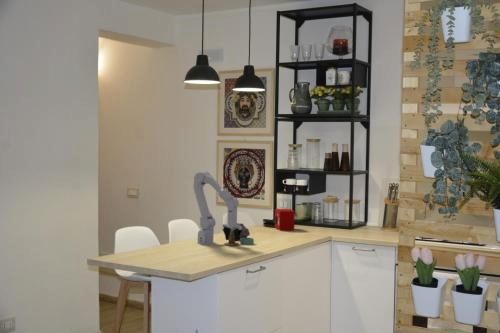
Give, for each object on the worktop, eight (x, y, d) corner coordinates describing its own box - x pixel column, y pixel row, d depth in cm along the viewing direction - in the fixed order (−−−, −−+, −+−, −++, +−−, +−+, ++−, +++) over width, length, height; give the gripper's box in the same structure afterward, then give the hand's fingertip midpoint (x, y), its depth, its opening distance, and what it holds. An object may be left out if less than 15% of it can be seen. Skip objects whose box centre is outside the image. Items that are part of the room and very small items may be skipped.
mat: (232, 247, 362) (232, 246, 362) (220, 245, 368) (220, 244, 368) (243, 245, 369) (243, 245, 369) (231, 243, 376) (231, 243, 376)
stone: (255, 221, 396) (241, 223, 384) (256, 237, 396) (243, 240, 383) (233, 223, 407) (219, 225, 394) (234, 239, 406) (220, 241, 394)
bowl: (247, 245, 369) (247, 239, 369) (237, 244, 375) (237, 238, 374) (256, 244, 375) (256, 238, 375) (246, 242, 380) (246, 237, 380)
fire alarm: (274, 228, 459) (274, 208, 458) (288, 227, 461) (288, 208, 460) (279, 230, 443) (279, 210, 442) (294, 230, 445) (294, 210, 444)
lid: (232, 246, 362) (232, 238, 362) (221, 244, 368) (221, 236, 368) (242, 245, 369) (242, 236, 369) (231, 243, 375) (231, 235, 375)
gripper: (219, 217, 370) (218, 239, 371) (236, 219, 360) (236, 242, 361) (227, 216, 375) (227, 238, 376) (244, 218, 366) (244, 241, 366)
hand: (232, 240), depth 369 cm, fingers open, 7 cm apart
